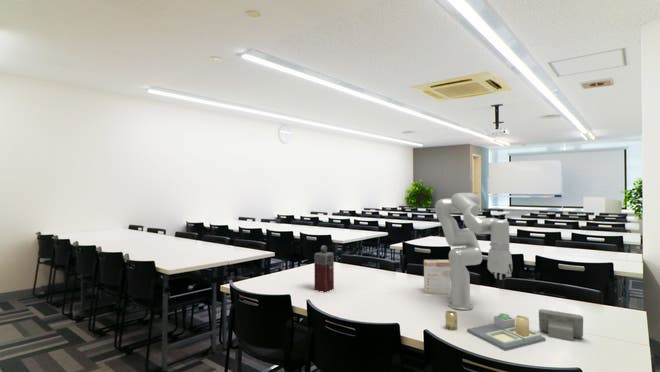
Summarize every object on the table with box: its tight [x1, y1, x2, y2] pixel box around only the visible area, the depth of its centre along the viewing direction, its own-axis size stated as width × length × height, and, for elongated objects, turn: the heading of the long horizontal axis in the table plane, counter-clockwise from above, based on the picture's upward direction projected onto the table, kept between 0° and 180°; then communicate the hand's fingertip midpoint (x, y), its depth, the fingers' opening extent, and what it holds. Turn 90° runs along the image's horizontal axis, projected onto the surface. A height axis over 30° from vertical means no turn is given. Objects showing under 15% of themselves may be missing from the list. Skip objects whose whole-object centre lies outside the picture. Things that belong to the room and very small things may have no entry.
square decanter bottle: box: [313, 245, 335, 293], centre depth 221 cm, size 9×11×28 cm
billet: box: [445, 310, 458, 331], centre depth 160 cm, size 5×5×7 cm
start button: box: [498, 313, 510, 320], centre depth 158 cm, size 4×4×4 cm
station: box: [466, 315, 546, 351], centre depth 151 cm, size 20×23×8 cm
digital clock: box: [538, 308, 584, 342], centre depth 151 cm, size 16×9×11 cm, turn 46°
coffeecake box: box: [423, 259, 451, 295], centre depth 215 cm, size 15×7×20 cm, turn 84°
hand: (500, 287), depth 159 cm, fingers closed
